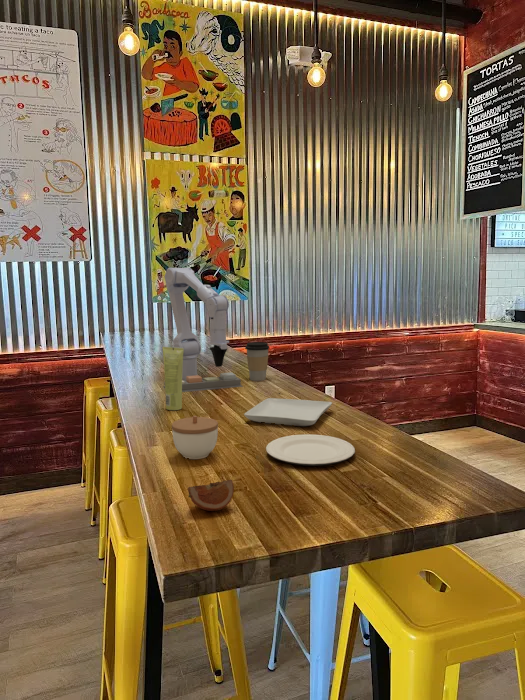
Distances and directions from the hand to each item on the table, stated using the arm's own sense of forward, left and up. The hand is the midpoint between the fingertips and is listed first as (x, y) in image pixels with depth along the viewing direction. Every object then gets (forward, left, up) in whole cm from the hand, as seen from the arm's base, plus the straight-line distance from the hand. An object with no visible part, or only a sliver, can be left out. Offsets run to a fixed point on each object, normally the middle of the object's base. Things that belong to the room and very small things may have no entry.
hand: (218, 366), depth 199 cm
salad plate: (+47, +7, -9) cm, 48 cm away
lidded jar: (+68, -27, -8) cm, 74 cm away
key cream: (0, -16, -6) cm, 17 cm away
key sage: (0, -3, -6) cm, 7 cm away
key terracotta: (0, -9, -5) cm, 11 cm away
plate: (+78, -2, -9) cm, 78 cm away
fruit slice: (+97, -32, -8) cm, 102 cm away
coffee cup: (-4, +17, -8) cm, 19 cm away
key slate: (0, +3, -5) cm, 6 cm away
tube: (+24, -22, -8) cm, 34 cm away
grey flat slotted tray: (0, -6, -8) cm, 10 cm away
